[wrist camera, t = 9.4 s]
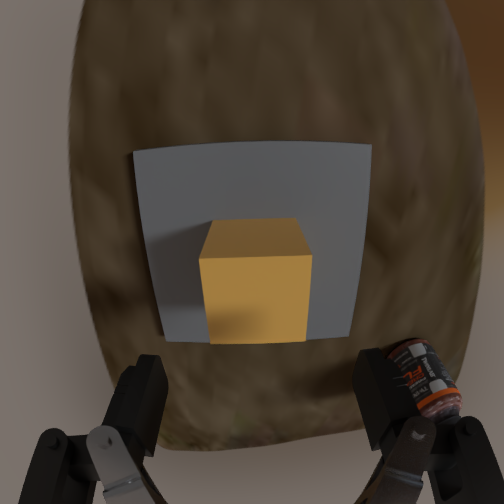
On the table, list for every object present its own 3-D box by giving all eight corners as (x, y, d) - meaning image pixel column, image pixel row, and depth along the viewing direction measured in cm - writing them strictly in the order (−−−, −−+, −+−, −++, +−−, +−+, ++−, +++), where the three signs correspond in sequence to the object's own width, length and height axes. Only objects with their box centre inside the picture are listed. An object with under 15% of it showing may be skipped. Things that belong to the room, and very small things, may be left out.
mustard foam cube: (212, 220, 20) (198, 258, 15) (295, 217, 20) (312, 255, 15) (219, 291, 22) (210, 343, 17) (293, 288, 22) (305, 341, 17)
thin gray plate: (138, 150, 19) (106, 159, 14) (366, 143, 19) (398, 151, 14) (168, 334, 25) (155, 373, 21) (345, 329, 25) (360, 367, 21)
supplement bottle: (399, 332, 26) (447, 421, 15) (438, 338, 26) (486, 413, 16) (371, 374, 28) (403, 460, 18) (410, 376, 29) (446, 451, 19)
